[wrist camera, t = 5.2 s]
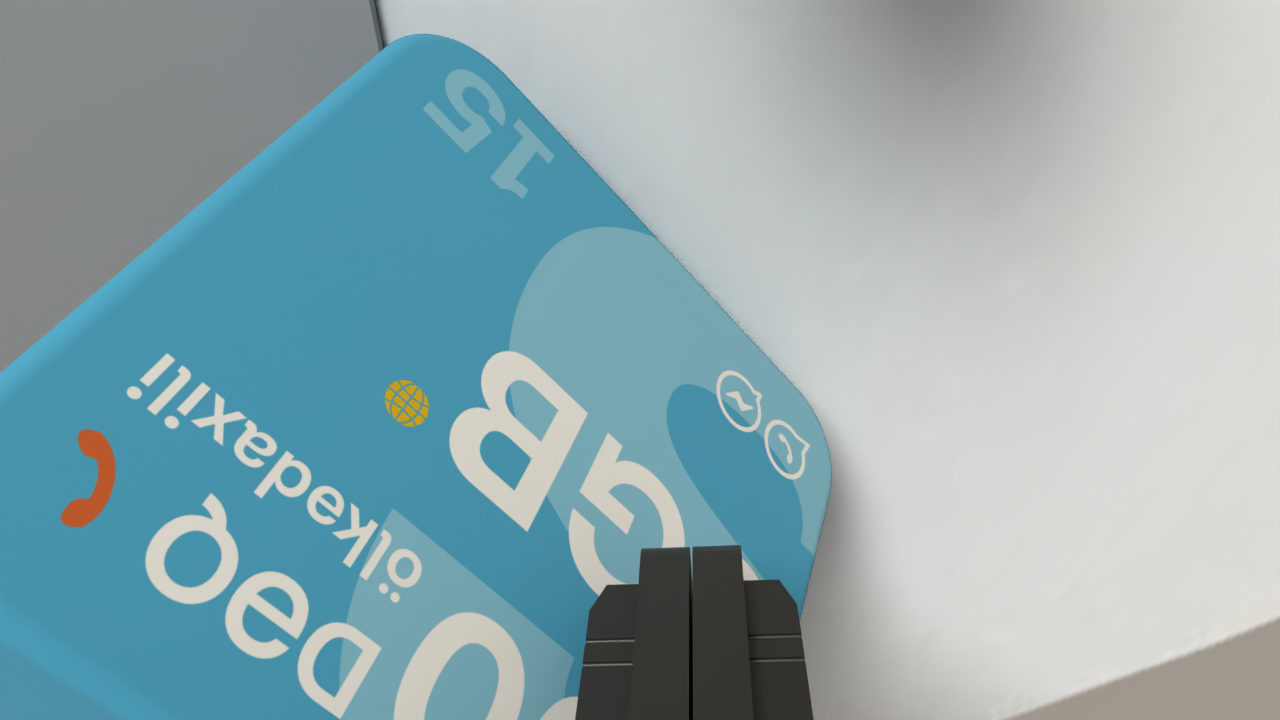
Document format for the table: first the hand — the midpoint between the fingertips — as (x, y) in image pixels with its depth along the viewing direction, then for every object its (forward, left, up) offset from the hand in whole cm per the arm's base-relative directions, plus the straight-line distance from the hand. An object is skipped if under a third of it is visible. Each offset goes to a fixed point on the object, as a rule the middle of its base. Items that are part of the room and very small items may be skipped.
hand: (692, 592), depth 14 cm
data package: (+2, -1, -8) cm, 8 cm away
